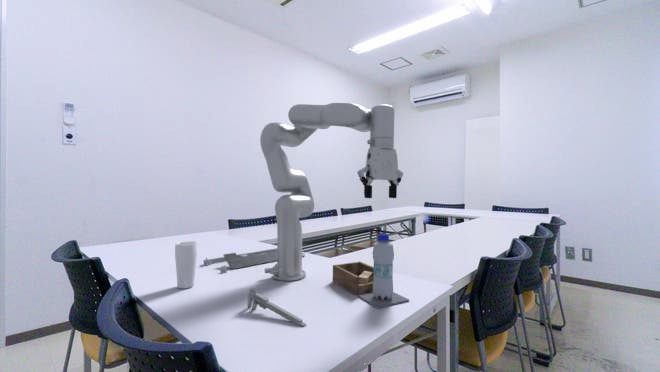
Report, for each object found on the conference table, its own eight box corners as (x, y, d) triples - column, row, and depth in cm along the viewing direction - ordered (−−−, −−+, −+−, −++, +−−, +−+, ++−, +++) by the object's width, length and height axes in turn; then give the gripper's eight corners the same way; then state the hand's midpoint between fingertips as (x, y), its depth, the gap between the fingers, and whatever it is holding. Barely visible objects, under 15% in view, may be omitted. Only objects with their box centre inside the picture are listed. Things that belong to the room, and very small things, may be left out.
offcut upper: (367, 285, 99) (367, 278, 99) (357, 284, 100) (358, 276, 100) (373, 279, 106) (373, 272, 106) (364, 277, 107) (364, 271, 107)
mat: (377, 308, 85) (377, 306, 85) (358, 296, 94) (358, 295, 94) (409, 301, 91) (409, 299, 91) (388, 290, 100) (388, 289, 100)
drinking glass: (201, 284, 105) (201, 242, 104) (185, 291, 98) (186, 245, 98) (185, 282, 107) (186, 240, 107) (170, 288, 100) (170, 244, 100)
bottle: (393, 302, 89) (394, 235, 89) (371, 300, 90) (371, 234, 90) (393, 294, 95) (394, 232, 95) (372, 292, 97) (373, 231, 97)
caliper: (247, 309, 85) (247, 287, 85) (250, 307, 86) (250, 286, 86) (303, 328, 74) (304, 303, 74) (306, 326, 75) (306, 301, 75)
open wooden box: (356, 295, 95) (356, 277, 95) (332, 281, 109) (332, 265, 109) (385, 289, 101) (385, 272, 101) (359, 276, 115) (359, 261, 115)
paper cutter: (203, 265, 131) (203, 252, 131) (287, 250, 161) (287, 240, 161) (220, 274, 117) (220, 260, 117) (308, 257, 148) (308, 245, 148)
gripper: (365, 141, 88) (364, 198, 88) (410, 145, 96) (409, 198, 96) (352, 143, 95) (351, 197, 95) (395, 147, 102) (394, 197, 103)
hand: (380, 198), depth 95 cm, fingers open, 9 cm apart
